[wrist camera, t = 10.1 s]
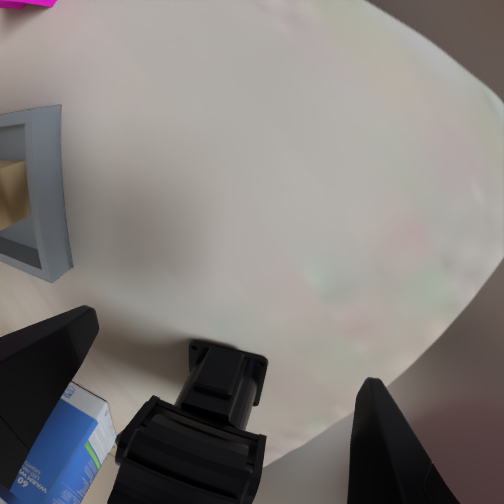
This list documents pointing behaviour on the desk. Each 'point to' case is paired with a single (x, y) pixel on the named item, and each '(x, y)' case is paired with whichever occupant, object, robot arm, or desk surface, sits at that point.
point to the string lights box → (65, 452)
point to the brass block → (13, 192)
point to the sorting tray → (37, 194)
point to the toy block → (19, 0)
